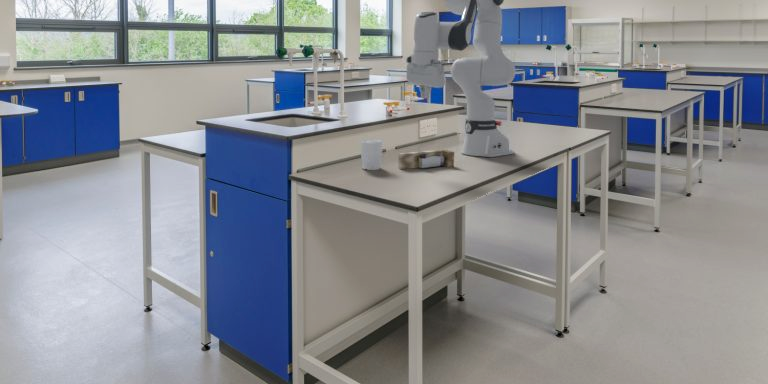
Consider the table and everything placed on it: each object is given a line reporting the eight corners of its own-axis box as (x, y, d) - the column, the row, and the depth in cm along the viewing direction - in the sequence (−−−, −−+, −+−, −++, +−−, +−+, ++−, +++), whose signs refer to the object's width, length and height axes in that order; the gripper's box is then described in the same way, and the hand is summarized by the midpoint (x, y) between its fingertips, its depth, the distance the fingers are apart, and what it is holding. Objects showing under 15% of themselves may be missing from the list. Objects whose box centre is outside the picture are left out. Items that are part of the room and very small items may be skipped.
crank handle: (441, 164, 232) (441, 150, 231) (445, 165, 230) (446, 152, 228) (417, 166, 226) (418, 153, 225) (422, 168, 224) (422, 154, 223)
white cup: (368, 171, 220) (368, 143, 217) (356, 167, 226) (356, 140, 224) (386, 169, 224) (386, 141, 222) (373, 165, 231) (374, 138, 228)
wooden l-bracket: (445, 163, 235) (445, 149, 234) (453, 166, 230) (454, 151, 229) (398, 168, 226) (398, 153, 225) (406, 171, 221) (406, 156, 220)
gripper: (449, 60, 214) (448, 100, 218) (418, 57, 231) (417, 94, 235) (434, 61, 211) (433, 101, 215) (403, 57, 228) (403, 95, 232)
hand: (424, 97), depth 225 cm, fingers closed
